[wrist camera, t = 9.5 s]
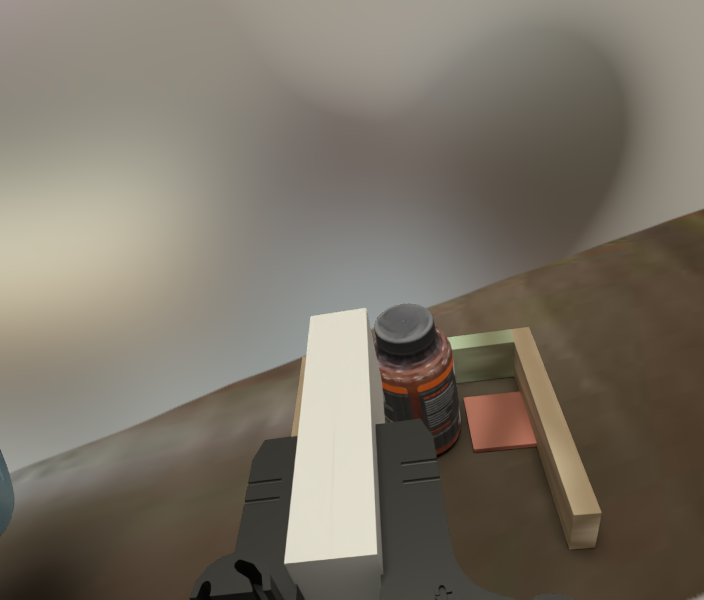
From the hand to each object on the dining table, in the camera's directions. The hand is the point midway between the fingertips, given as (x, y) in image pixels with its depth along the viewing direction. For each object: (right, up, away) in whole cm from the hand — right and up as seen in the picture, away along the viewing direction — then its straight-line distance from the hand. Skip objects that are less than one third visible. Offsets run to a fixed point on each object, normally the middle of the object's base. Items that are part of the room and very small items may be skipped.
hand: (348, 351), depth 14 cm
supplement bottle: (+6, -9, +26) cm, 28 cm away
